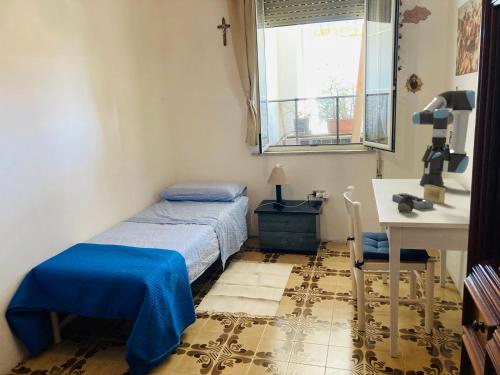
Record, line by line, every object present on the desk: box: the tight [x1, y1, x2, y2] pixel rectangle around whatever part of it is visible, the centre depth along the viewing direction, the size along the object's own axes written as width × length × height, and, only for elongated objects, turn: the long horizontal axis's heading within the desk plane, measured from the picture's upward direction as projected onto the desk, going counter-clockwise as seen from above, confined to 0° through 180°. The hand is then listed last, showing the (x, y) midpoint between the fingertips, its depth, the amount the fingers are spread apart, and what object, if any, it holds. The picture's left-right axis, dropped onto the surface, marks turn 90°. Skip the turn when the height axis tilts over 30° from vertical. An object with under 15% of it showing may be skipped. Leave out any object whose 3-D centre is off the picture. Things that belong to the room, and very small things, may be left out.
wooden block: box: [423, 184, 447, 205], centre depth 228 cm, size 4×12×9 cm, turn 19°
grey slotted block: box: [391, 192, 435, 211], centre depth 223 cm, size 10×22×4 cm, turn 19°
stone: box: [397, 195, 415, 213], centre depth 209 cm, size 8×7×10 cm
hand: (435, 172), depth 225 cm, fingers open, 13 cm apart
